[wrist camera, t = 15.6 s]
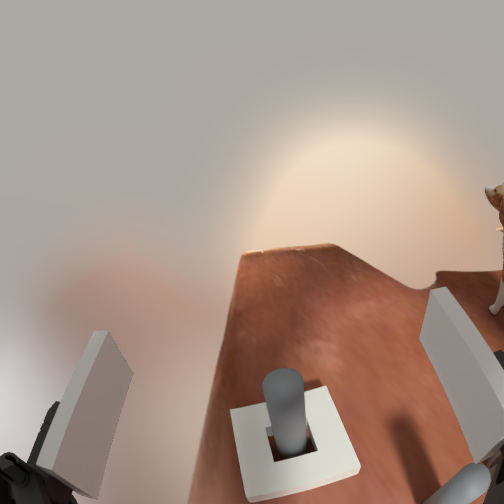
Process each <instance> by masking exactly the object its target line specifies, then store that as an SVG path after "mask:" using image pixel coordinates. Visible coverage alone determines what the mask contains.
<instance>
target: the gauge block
mask: <svg viewBox="0 0 504 504" xmlns="http://www.w3.org/2000/svg"><path fill="white" fill-rule="evenodd" d="M304 396H305V413H306V427H307V430H308V432H309V435H310V438H311V441H312V444H313V447H314V449H315V452H312V453H308V454H305V455H301V456H298V457H294V458H290V459H286V460H282V461H278V462H274V459H273V455H272V452H271V448H270V444H269V440H268V437H269V436H273V435H274V434H273V430H272V426H271V422H270V418H269V414H268V409H267V405H266V402H264V403H259V404H255V405H250V406H246V407H241V408H236V409H231V410H230V413H231V419H232V425H233V431H234V436H235V442H236V448H237V453H238V458H239V464H240V469H241V474H242V480H243V485H244V490H245V495H246V498H247V499H248V501H249V502H250V503H253V502H258V501H264V500H268V499H273V498H278V497H282V496H286V495H290V494H294V493H298V492H302V491H306V490H309V489H313V488H316V487H320V486H323V485H326V484H329V483H332V482H335V481H338V480H341V479H344V478H347V477H350V476H353V475H355V474H358V472H359V470H360V467H361V465H360V463H359V460H358V458H357V456H356V453H355V451H354V449H353V447H352V444H351V442H350V440H349V437H348V435H347V433H346V430H345V428H344V426H343V424H342V421H341V419H340V417H339V414H338V412H337V410H336V408H335V405H334V403H333V401H332V398H331V396H330V394H329V392H328V389H327V387H326V386H323V387H319V388H316V389H313V390H309V391H306V392H304Z"/></svg>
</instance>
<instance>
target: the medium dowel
mask: <svg viewBox="0 0 504 504" xmlns="http://www.w3.org/2000/svg"><path fill="white" fill-rule="evenodd" d="M490 481H491V475H490V471H489V469H488V468H487V467H486V466H485V465H483V464H481V463H478V464H476V465H475V463H471V464H468V465H466V466H465V467H463V468H462V469H461V470H460V471H459V472H458V473H457V474H456V475H455V476H454V477H452V478H451V479H450V480H449V481H448V482H447V483H446V484H444V485H443V486H442V487H441V488H440V489H439V490H437V491H436V492H435V493H434V494H432V495H431V496H430V497H429V498H427V499H426V500H425V501H424V502H423V503H422V504H469V503H470V502H472V501H473V500H475V499H476V498H478V497H479V496H481V495H482V494H484V493H485V491H486V490H487V489H488V487H489V485H490Z"/></svg>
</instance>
